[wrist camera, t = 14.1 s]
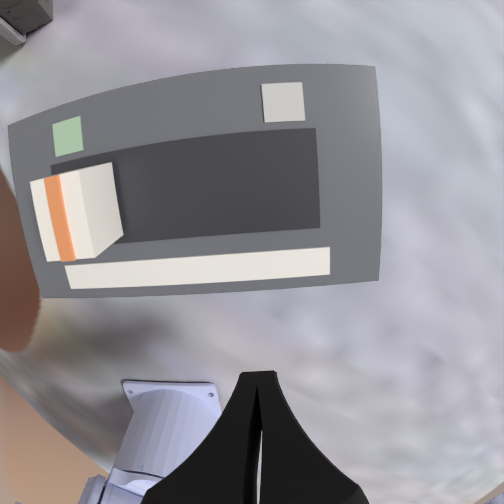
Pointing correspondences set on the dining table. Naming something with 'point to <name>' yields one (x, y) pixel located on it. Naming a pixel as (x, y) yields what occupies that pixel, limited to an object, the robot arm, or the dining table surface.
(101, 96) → the panel
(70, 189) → the block
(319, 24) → the dining table surface
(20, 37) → the electrical switch
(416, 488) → the dining table surface
